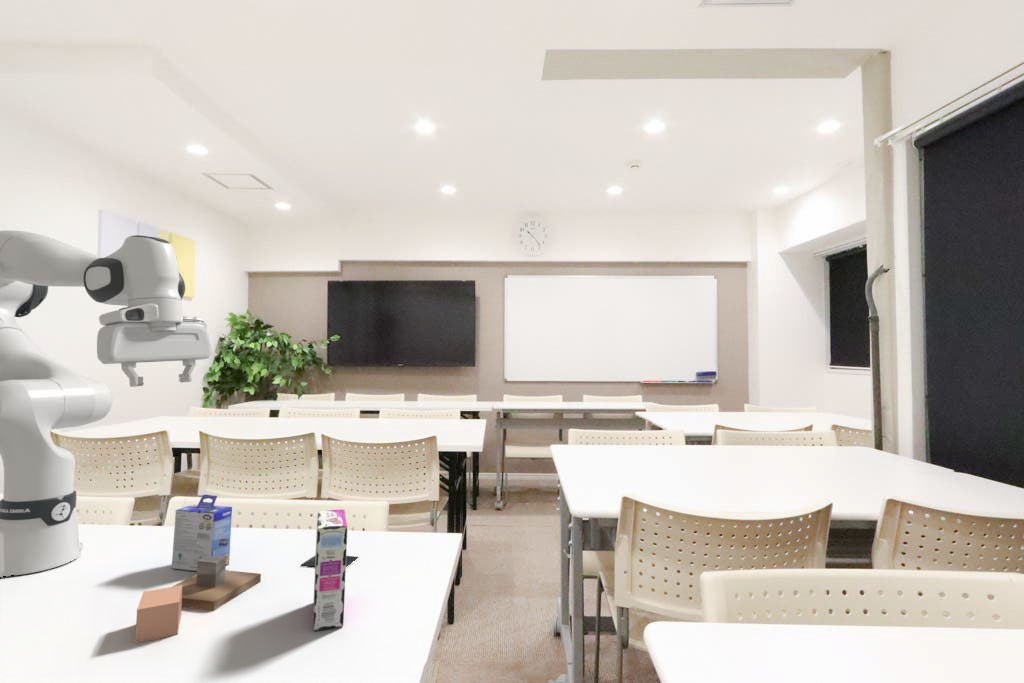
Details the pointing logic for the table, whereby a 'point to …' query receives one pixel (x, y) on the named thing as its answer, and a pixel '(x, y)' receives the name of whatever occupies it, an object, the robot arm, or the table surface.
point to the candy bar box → (330, 570)
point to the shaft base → (216, 593)
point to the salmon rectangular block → (158, 613)
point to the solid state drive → (312, 560)
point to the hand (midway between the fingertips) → (162, 384)
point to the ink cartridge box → (201, 533)
